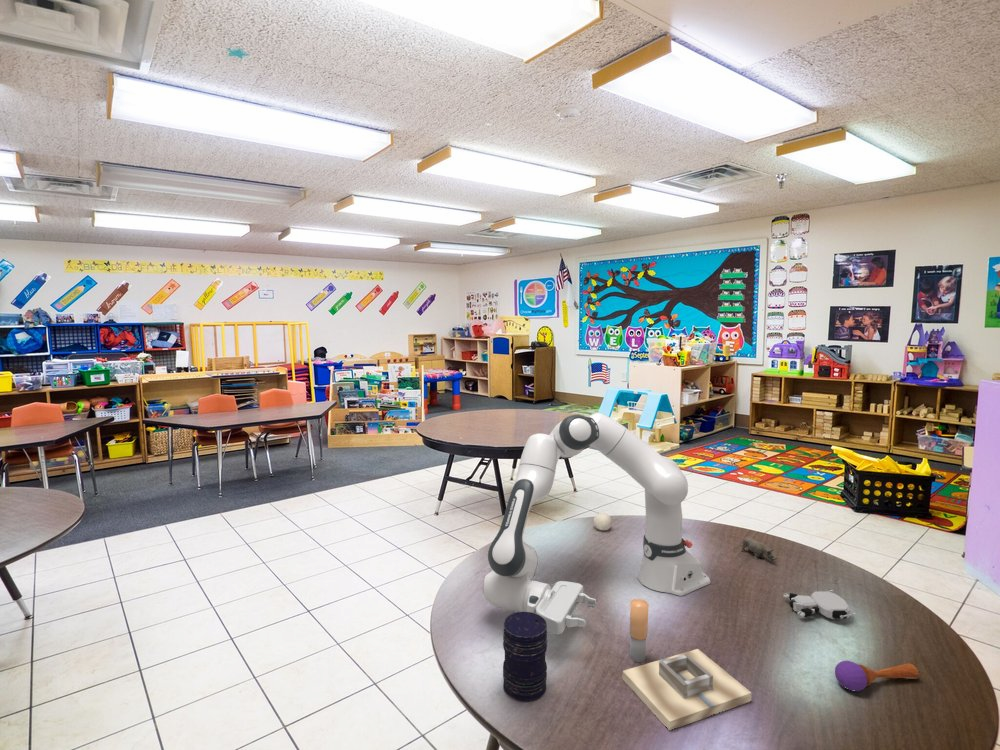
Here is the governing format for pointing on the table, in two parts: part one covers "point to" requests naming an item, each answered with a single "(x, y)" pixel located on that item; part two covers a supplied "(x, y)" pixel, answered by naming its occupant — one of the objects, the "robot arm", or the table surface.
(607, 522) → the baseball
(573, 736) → the table surface
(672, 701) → the plywood panel
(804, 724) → the table surface
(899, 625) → the table surface
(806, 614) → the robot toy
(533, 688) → the dark blue cylinder
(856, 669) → the purple maraca
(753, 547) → the rhino figurine
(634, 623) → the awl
